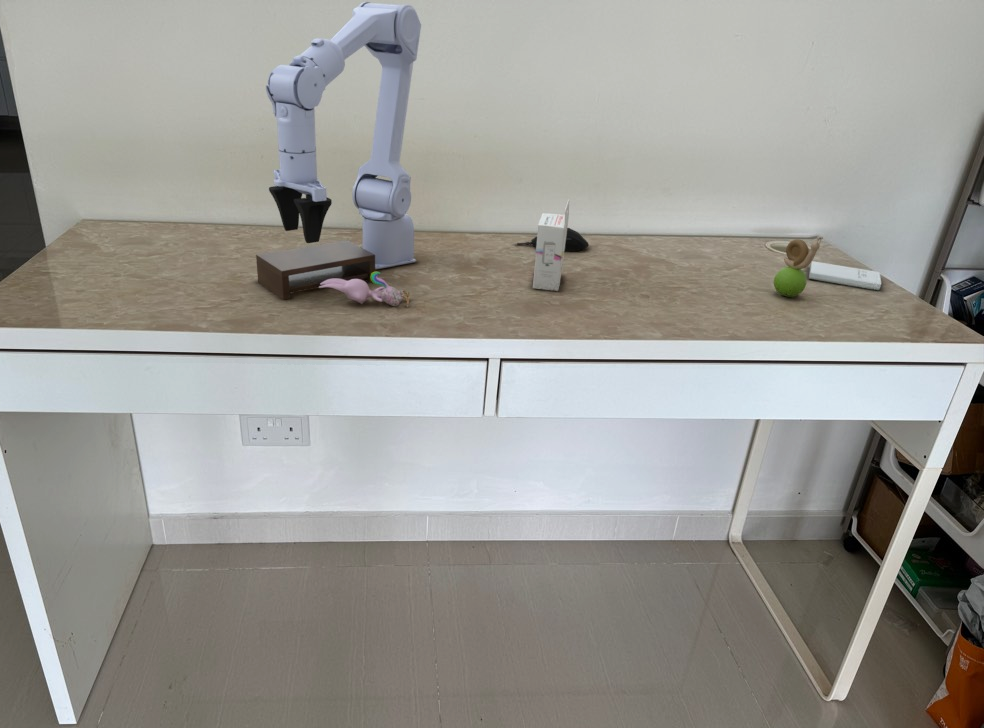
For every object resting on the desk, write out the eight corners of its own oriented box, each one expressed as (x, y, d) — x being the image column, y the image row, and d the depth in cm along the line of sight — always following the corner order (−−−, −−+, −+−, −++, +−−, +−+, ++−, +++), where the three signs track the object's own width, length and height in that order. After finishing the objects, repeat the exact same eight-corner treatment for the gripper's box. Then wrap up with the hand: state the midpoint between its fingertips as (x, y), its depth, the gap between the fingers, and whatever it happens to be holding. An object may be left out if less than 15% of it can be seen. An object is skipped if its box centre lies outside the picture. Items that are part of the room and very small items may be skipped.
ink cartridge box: (535, 273, 145) (543, 195, 138) (561, 276, 145) (571, 198, 138) (530, 288, 138) (539, 207, 131) (558, 291, 137) (568, 209, 130)
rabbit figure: (407, 304, 132) (320, 288, 131) (413, 272, 130) (325, 255, 128) (406, 318, 127) (315, 301, 125) (413, 285, 124) (320, 267, 122)
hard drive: (809, 268, 156) (877, 278, 152) (808, 279, 149) (879, 291, 145) (811, 260, 155) (879, 270, 151) (810, 271, 149) (881, 283, 144)
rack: (347, 265, 145) (346, 239, 142) (375, 281, 138) (375, 254, 136) (258, 282, 135) (255, 254, 133) (283, 299, 128) (281, 271, 126)
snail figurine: (792, 304, 137) (810, 238, 131) (764, 292, 142) (780, 228, 136) (813, 300, 139) (832, 235, 133) (784, 289, 144) (801, 225, 138)
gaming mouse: (516, 240, 164) (517, 221, 162) (585, 243, 164) (588, 225, 162) (518, 249, 158) (519, 230, 157) (589, 252, 159) (592, 233, 157)
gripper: (253, 143, 122) (260, 227, 129) (294, 160, 112) (299, 251, 119) (294, 140, 126) (298, 222, 133) (337, 156, 116) (339, 244, 122)
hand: (301, 235), depth 126 cm, fingers open, 7 cm apart
